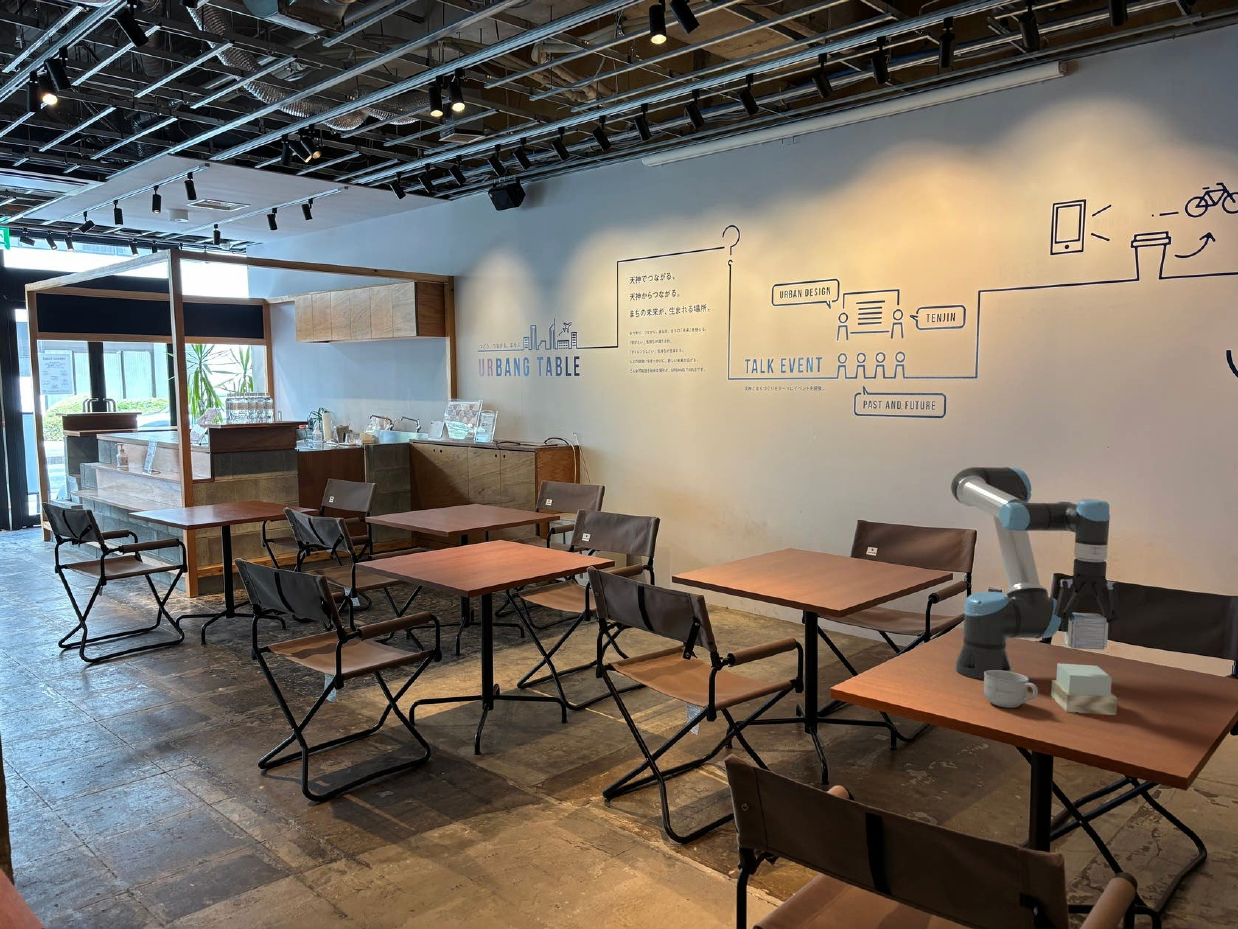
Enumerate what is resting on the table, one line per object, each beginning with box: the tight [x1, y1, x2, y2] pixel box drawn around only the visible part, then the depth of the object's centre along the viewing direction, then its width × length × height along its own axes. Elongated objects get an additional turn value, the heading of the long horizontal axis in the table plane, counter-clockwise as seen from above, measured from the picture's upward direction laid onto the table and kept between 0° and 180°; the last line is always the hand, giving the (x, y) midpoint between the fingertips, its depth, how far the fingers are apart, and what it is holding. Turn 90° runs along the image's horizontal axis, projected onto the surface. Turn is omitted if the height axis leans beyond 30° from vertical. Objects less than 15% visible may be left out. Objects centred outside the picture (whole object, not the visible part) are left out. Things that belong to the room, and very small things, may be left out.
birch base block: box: [1050, 679, 1118, 716], centre depth 230 cm, size 12×12×5 cm
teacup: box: [983, 670, 1039, 709], centre depth 229 cm, size 14×11×8 cm
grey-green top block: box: [1055, 662, 1113, 697], centre depth 229 cm, size 10×10×5 cm
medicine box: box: [1068, 612, 1106, 651], centre depth 228 cm, size 8×4×9 cm, turn 84°
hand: (1085, 644), depth 228 cm, fingers closed on medicine box, 8 cm apart
